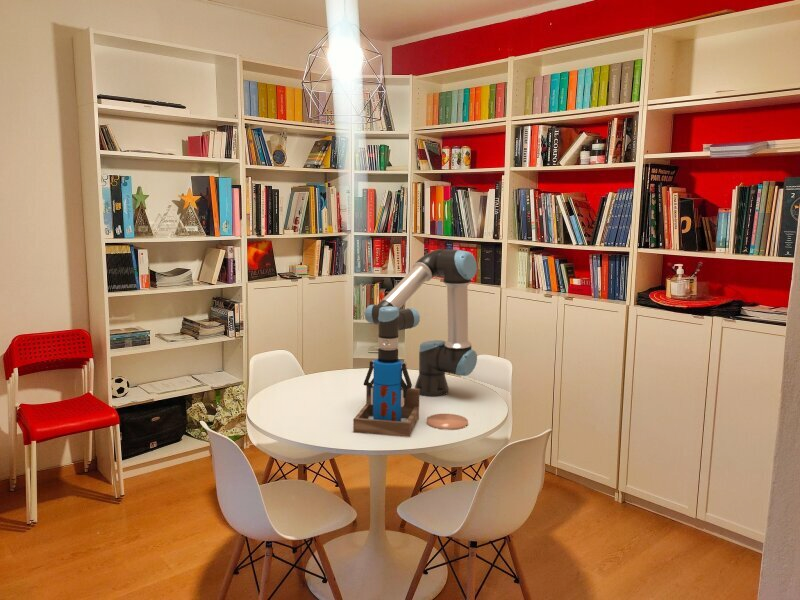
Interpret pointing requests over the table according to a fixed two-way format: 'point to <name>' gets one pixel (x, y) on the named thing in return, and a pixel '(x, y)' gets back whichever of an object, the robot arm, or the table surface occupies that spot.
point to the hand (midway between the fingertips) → (387, 404)
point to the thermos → (387, 390)
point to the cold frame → (384, 426)
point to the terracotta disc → (447, 421)
